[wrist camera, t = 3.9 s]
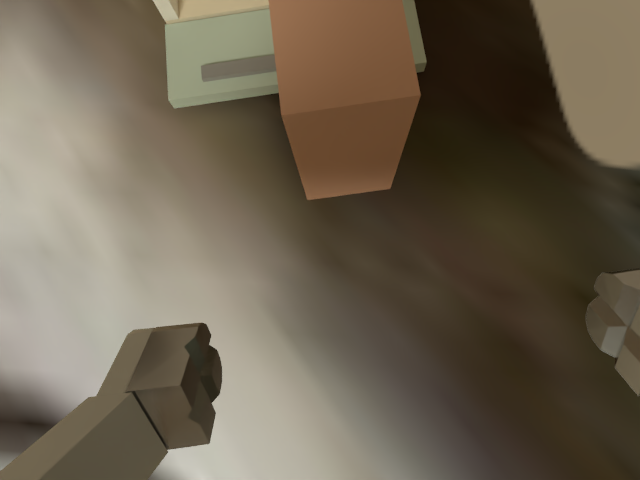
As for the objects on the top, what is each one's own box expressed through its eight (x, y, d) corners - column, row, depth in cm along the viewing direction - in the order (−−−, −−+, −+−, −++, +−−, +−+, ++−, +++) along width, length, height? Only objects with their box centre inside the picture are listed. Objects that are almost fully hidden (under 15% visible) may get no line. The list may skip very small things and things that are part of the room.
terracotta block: (307, 200, 22) (281, 115, 13) (298, 124, 23) (268, -2, 14) (390, 188, 22) (420, 95, 13) (377, 113, 23) (397, -23, 14)
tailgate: (170, 34, 24) (174, 108, 22) (162, 21, 22) (165, 97, 21) (409, -2, 23) (423, 71, 22) (411, -18, 22) (428, 58, 21)
